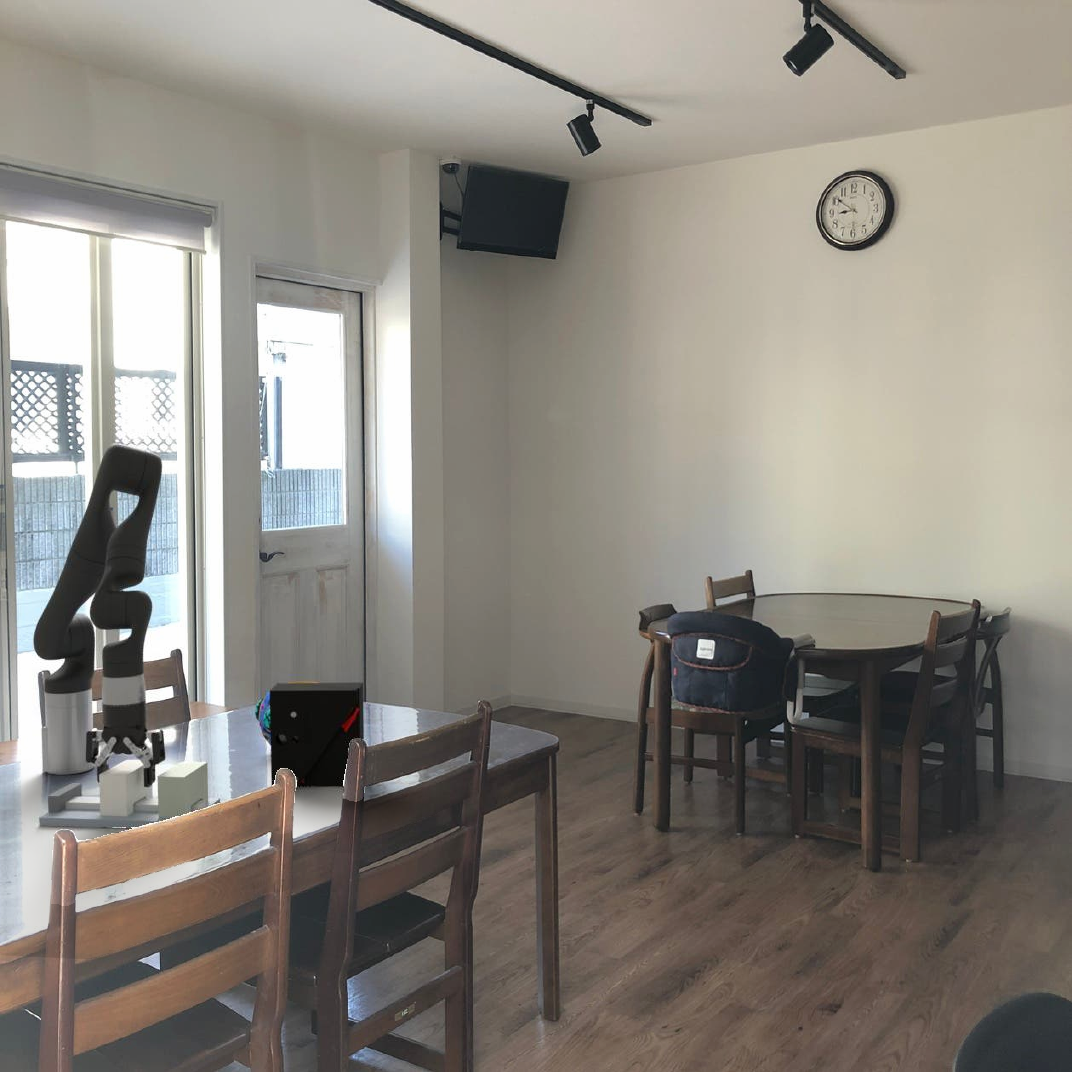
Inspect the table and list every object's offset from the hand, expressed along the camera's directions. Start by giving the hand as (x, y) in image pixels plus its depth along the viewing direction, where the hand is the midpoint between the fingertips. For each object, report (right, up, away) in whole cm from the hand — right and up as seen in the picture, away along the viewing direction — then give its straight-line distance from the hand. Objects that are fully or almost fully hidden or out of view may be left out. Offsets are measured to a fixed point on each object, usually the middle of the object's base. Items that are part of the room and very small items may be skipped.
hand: (126, 785), depth 198 cm
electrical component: (+31, -5, +21) cm, 38 cm away
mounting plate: (+1, -6, 0) cm, 6 cm away
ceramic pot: (+22, -3, +45) cm, 50 cm away
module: (0, -4, 0) cm, 4 cm away
